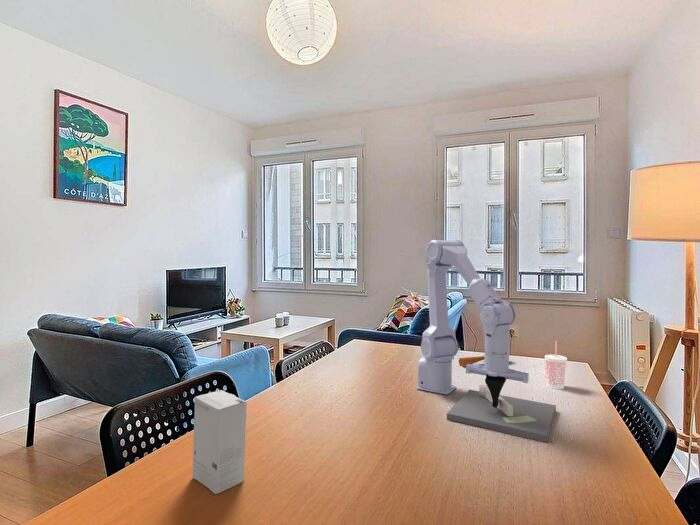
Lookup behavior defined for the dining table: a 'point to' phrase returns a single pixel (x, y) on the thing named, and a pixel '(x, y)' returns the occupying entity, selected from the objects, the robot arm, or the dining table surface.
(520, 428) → the board
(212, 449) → the skincare box
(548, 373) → the beverage cup
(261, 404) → the dining table surface
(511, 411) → the cream bar
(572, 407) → the dining table surface
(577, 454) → the dining table surface
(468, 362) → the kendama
